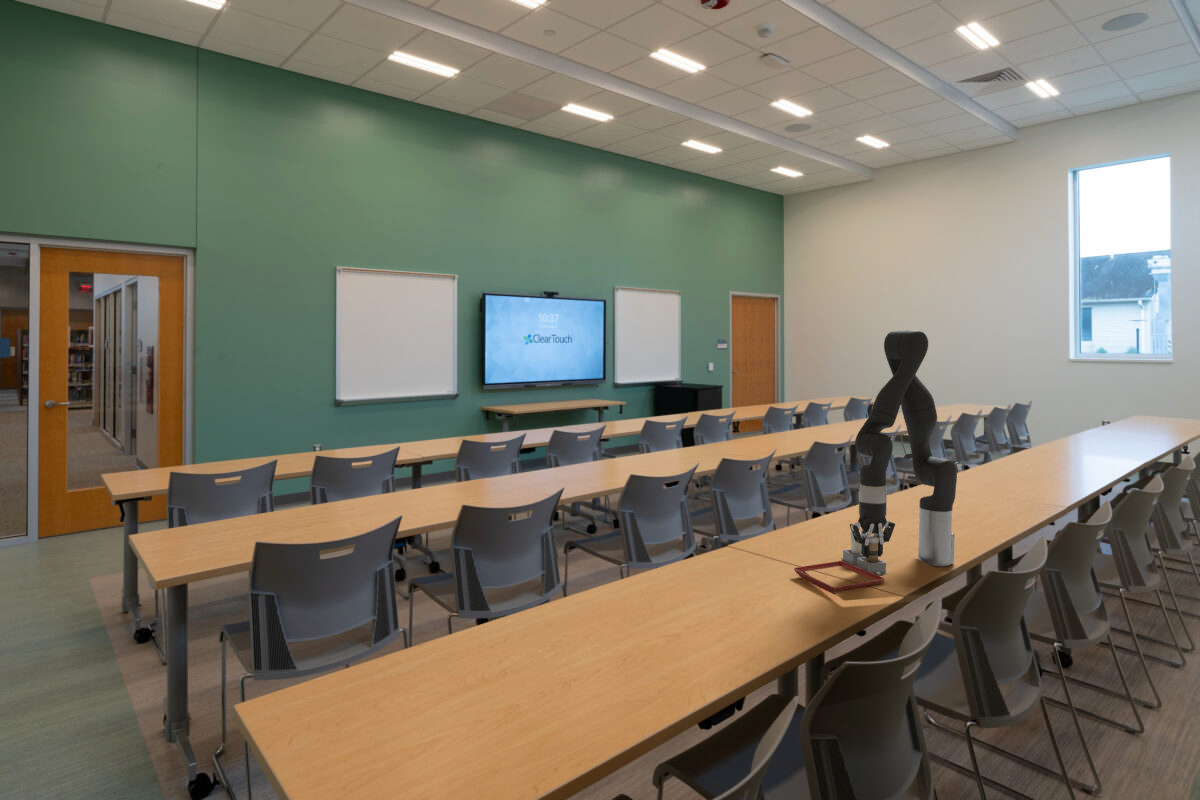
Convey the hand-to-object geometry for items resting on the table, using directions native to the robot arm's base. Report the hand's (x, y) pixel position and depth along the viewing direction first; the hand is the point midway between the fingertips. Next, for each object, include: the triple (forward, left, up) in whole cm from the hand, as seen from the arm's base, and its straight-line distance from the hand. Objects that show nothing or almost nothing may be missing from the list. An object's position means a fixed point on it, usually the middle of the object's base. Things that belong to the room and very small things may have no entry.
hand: (871, 556), depth 195 cm
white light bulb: (0, -8, -4) cm, 9 cm away
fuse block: (0, -4, -6) cm, 7 cm away
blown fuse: (0, 0, -3) cm, 3 cm away
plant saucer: (+13, +4, -6) cm, 15 cm away
